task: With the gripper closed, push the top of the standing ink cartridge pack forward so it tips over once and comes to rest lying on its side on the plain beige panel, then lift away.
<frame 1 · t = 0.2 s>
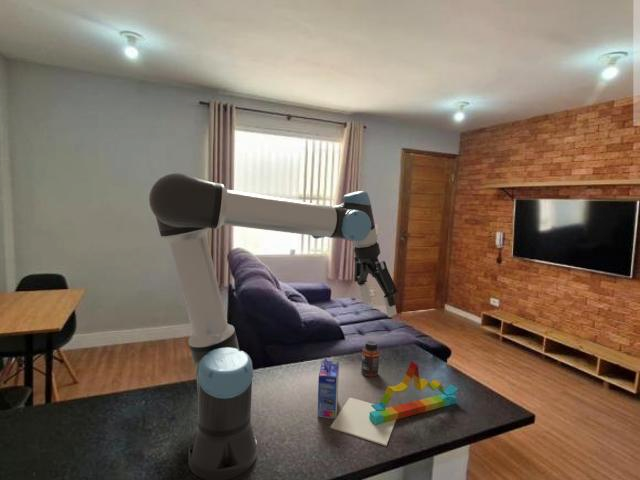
hand: (379, 308, 108), 27 cm above the countertop, tool tilted 20°, fingers open, 13 cm apart
plain beige panel: (366, 419, 97), on the countertop
ink cartridge box: (327, 409, 101), on the countertop
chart: (414, 410, 102), on the countertop, touching plain beige panel
supplement bottle: (369, 374, 124), on the countertop
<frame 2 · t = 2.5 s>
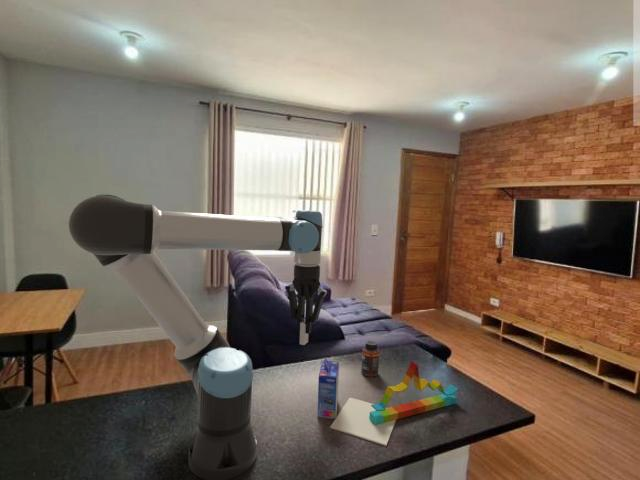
hand: (303, 342, 103), 18 cm above the countertop, tool pointing down, fingers closed
nothing on the countertop moved.
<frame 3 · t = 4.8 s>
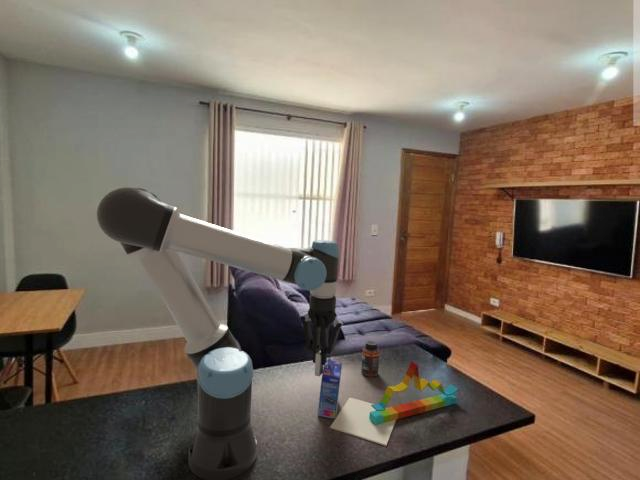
hand: (318, 373, 102), 10 cm above the countertop, tool pointing down, fingers closed
ink cartridge box: (327, 408, 101), on the countertop, touching gripper
everything else where it was.
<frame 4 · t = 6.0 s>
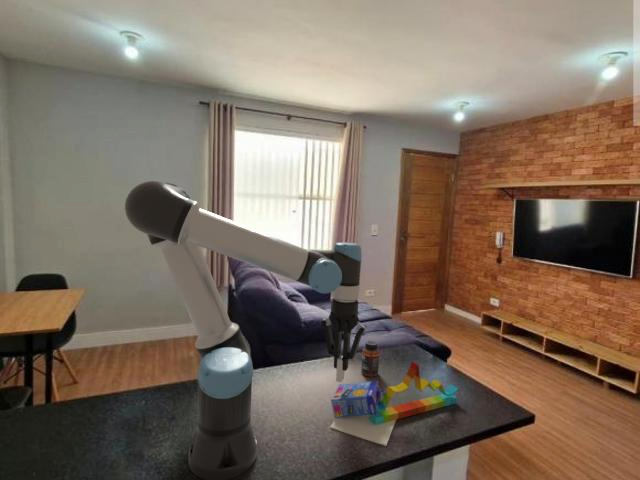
hand: (340, 379, 99), 10 cm above the countertop, tool pointing down, fingers closed
ink cartridge box: (335, 400, 101), point 3 cm above the countertop, touching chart, plain beige panel
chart: (414, 410, 102), on the countertop, touching ink cartridge box, plain beige panel
everything else where it was.
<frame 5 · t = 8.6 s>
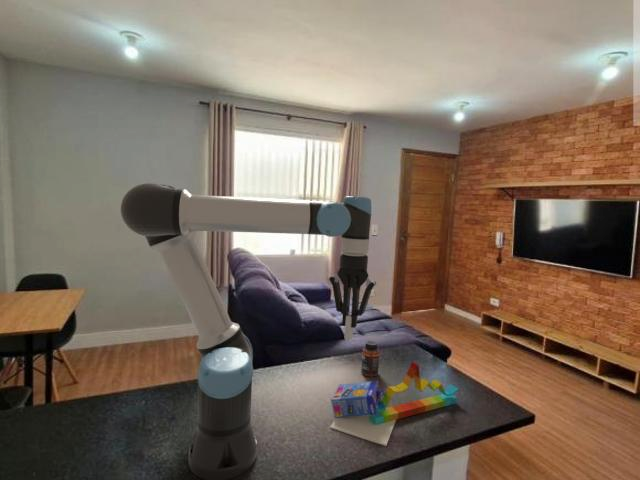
hand: (348, 337, 97), 22 cm above the countertop, tool pointing down, fingers closed
nothing on the countertop moved.
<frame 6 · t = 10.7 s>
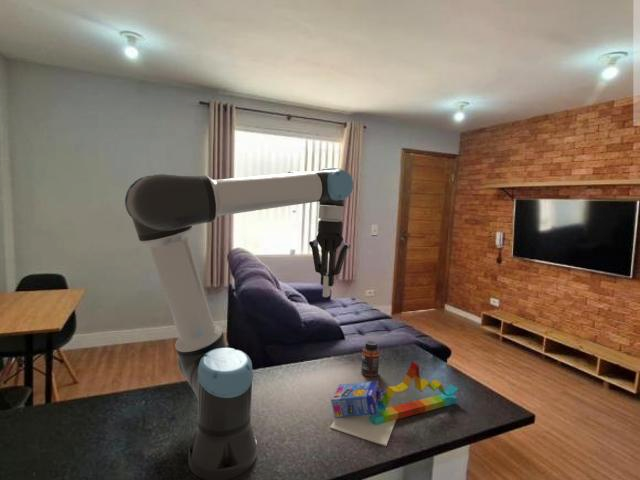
hand: (326, 295, 109), 30 cm above the countertop, tool pointing down, fingers closed
nothing on the countertop moved.
at the end: ink cartridge box tilted 74°; ink cartridge box touching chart, plain beige panel, countertop; the gripper is holding nothing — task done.
